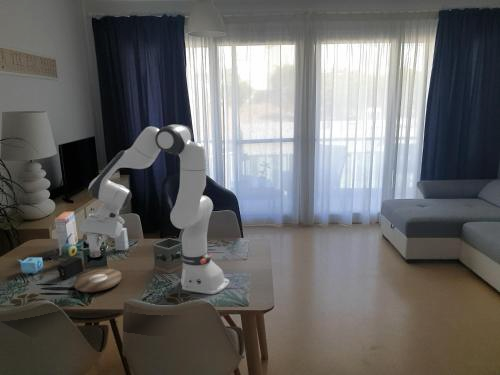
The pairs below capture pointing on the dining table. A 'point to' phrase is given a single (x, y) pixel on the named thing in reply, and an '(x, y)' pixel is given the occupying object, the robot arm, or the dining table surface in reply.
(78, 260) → the digital camera
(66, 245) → the decorative fish
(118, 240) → the skincare box
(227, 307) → the dining table surface
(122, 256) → the dining table surface
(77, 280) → the turntable platter
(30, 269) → the teapot
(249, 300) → the dining table surface
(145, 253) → the dining table surface
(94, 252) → the cast sleeve
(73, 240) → the cracker box
